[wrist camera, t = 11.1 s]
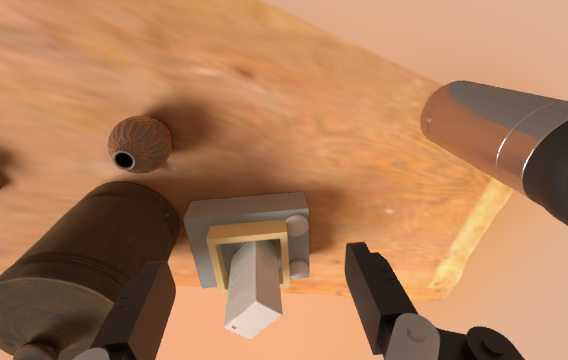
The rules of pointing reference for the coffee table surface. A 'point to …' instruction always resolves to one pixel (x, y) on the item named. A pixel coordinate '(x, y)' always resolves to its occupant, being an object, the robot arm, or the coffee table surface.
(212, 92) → the coffee table surface
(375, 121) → the coffee table surface
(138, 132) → the vase
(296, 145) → the coffee table surface
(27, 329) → the wooden container
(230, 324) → the skincare box
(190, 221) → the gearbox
